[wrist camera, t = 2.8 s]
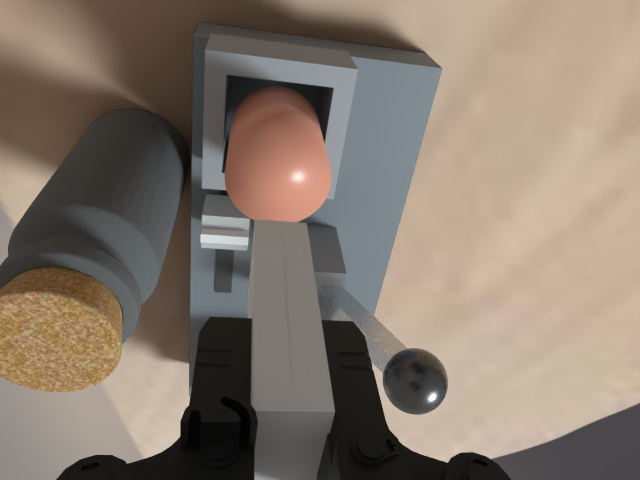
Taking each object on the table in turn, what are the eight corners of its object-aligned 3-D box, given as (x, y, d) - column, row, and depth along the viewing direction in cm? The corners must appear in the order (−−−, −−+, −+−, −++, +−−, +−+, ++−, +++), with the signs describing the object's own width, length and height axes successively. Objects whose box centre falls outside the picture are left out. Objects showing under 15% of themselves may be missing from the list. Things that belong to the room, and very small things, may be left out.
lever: (275, 245, 29) (423, 395, 21) (318, 233, 30) (469, 369, 23) (270, 286, 30) (406, 438, 23) (311, 273, 32) (450, 411, 24)
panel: (199, 17, 25) (180, 56, 19) (426, 49, 27) (474, 93, 21) (193, 364, 39) (181, 451, 33) (344, 369, 41) (359, 451, 35)
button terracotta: (233, 80, 22) (227, 123, 18) (325, 91, 22) (339, 135, 18) (228, 165, 24) (222, 221, 20) (312, 172, 24) (322, 228, 20)
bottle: (124, 214, 31) (35, 422, 19) (61, 133, 28) (-98, 320, 16) (208, 177, 30) (171, 370, 18) (152, 89, 27) (61, 250, 15)
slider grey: (206, 194, 27) (200, 221, 25) (250, 197, 28) (249, 225, 25) (204, 225, 28) (200, 254, 26) (248, 228, 29) (246, 257, 26)
